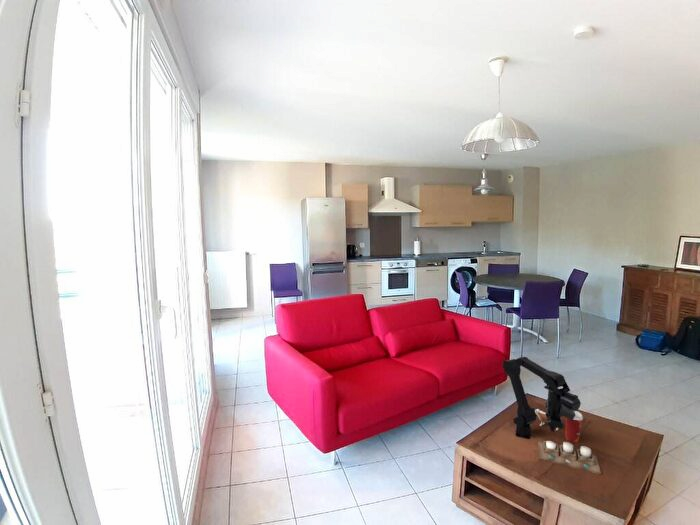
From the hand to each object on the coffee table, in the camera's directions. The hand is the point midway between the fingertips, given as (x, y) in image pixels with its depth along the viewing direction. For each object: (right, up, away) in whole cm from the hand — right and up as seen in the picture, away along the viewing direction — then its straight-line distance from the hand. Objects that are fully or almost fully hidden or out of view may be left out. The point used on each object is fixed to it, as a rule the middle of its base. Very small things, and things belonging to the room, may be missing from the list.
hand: (552, 431), depth 166 cm
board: (+6, -12, -2) cm, 13 cm away
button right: (+13, -9, -5) cm, 16 cm away
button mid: (+6, -9, -2) cm, 11 cm away
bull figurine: (+10, -9, +23) cm, 27 cm away
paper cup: (+17, -10, +12) cm, 23 cm away
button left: (0, -10, +2) cm, 10 cm away
